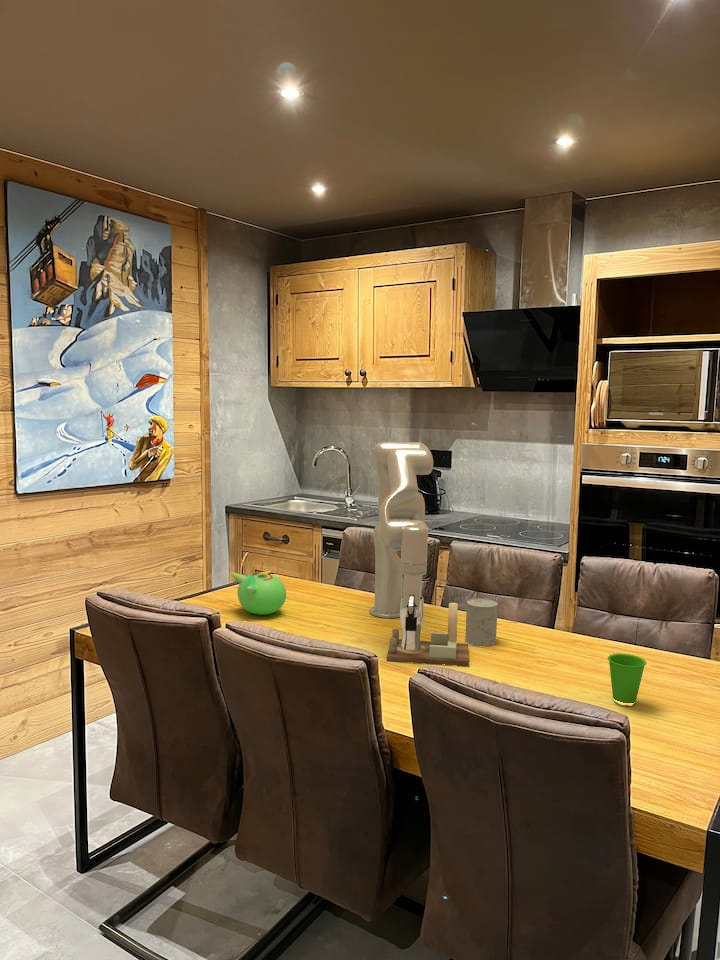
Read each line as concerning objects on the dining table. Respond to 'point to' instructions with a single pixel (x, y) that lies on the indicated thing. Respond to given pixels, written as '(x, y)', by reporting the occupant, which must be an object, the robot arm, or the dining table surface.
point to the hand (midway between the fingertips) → (411, 625)
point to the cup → (625, 676)
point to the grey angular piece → (446, 637)
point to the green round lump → (260, 592)
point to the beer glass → (411, 637)
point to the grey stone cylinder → (481, 622)
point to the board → (424, 653)
